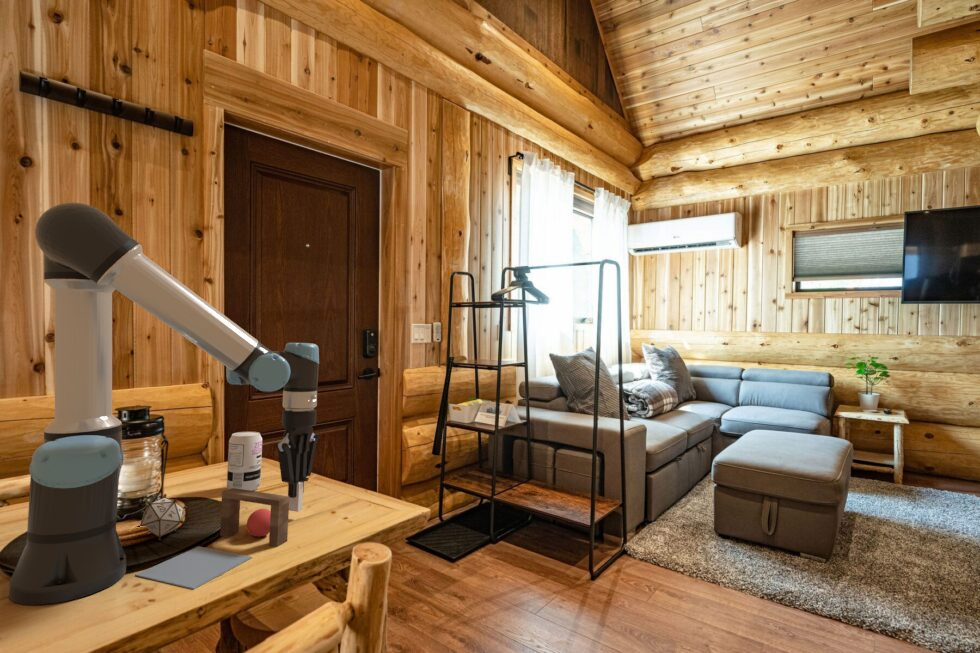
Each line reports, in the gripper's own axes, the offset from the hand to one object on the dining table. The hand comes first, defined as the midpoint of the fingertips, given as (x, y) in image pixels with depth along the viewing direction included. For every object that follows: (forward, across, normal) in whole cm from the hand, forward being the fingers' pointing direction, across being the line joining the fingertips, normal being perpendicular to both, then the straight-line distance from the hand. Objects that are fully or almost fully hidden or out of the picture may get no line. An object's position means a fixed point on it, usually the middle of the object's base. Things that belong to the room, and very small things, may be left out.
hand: (295, 509), depth 118 cm
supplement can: (+2, +13, +27) cm, 30 cm away
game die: (+2, -19, +18) cm, 26 cm away
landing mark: (+2, -27, 0) cm, 27 cm away
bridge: (+2, -13, 0) cm, 13 cm away
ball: (-1, -11, 0) cm, 11 cm away
